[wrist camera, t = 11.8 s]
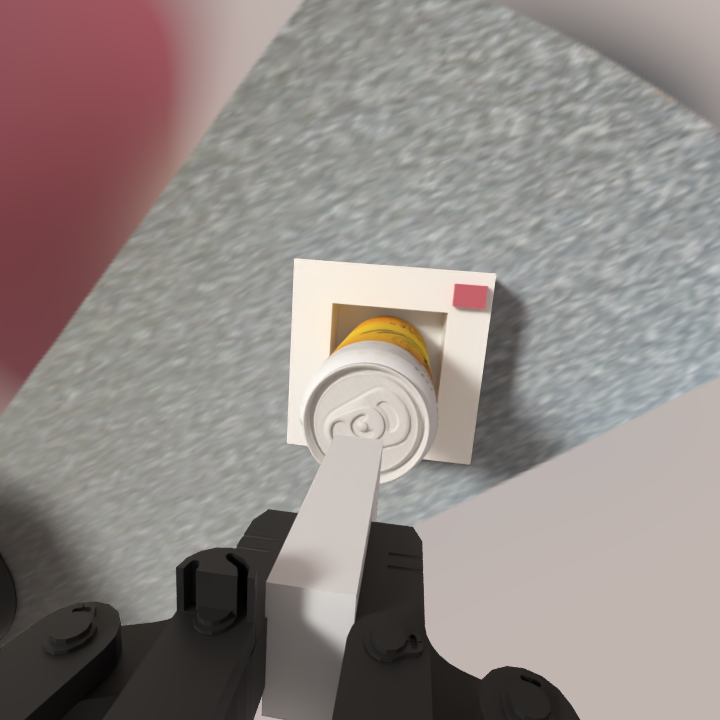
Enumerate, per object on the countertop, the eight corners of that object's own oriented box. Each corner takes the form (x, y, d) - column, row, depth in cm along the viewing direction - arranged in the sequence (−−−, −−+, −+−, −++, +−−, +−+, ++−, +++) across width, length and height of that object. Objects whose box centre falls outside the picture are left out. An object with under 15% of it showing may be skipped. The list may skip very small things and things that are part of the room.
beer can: (440, 377, 33) (462, 466, 18) (364, 406, 34) (329, 512, 19) (408, 301, 32) (405, 330, 17) (332, 333, 33) (269, 387, 18)
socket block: (298, 426, 35) (284, 446, 31) (306, 259, 33) (292, 258, 29) (464, 444, 34) (471, 468, 30) (487, 272, 31) (498, 273, 27)
